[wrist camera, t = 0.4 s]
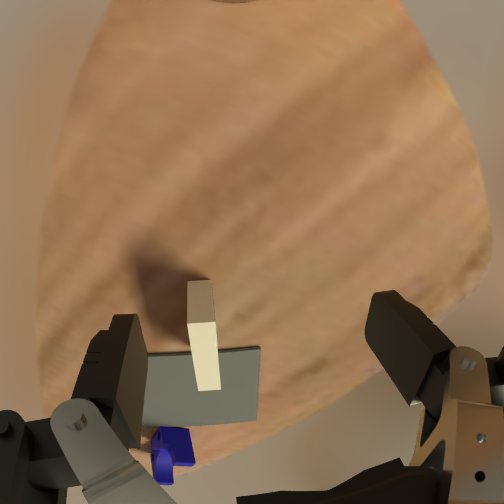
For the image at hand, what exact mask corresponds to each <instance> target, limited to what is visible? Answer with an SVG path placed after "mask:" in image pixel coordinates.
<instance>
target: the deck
mask: <svg viewBox="0 0 504 504" xmlns="http://www.w3.org/2000/svg"><path fill="white" fill-rule="evenodd" d="M187 326H188V333H189V339H190V345H191V352H192V358H193V364H194V369H195V375H196V381H197V386H198V391H209V390H221V382H220V370H219V359H218V346H217V333H216V321H215V311H214V302H213V292H212V282H211V280H199V281H188V282H187Z"/></svg>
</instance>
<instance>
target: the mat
mask: <svg viewBox="0 0 504 504" xmlns="http://www.w3.org/2000/svg"><path fill="white" fill-rule="evenodd" d="M260 352H261V348H260V347H252V348H241V349H230V350H218V359H219V370H220V382H221V390H209V391H198V386H197V381H196V375H195V369H194V364H193V358H192V352H188V353H168V354H147V355H148V372H147V380H146V388H145V397H144V407H143V417H142V427H161V426H163V427H179V426H201V425H216V424H228V423H238V422H247V421H255V420H257V407H258V389H259V371H260Z"/></svg>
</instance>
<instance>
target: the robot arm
mask: <svg viewBox="0 0 504 504" xmlns="http://www.w3.org/2000/svg"><path fill="white" fill-rule="evenodd" d="M214 1H218V2H225V3H244V2H249V1H254V0H214ZM365 338H366V341H367V343H368V345H369V347H370V348H371V349H372V351H373V352H374V354H375V355H376V357H377V358H378V360H379V361H380V363H381V364H382V366H383V367H384V369H385V370H386V372H387V373H388V374H389V376H390V377H391V379H392V380H393V382H394V383H395V385H396V387H397V388H398V390H399V391H400V393H401V394H402V396H403V397H404V399H405V400H406V402H407V403H408V405H409V406H412V405H415V404H418V403H420V402H422V403H423V404H424V407H423V408H422V410H421V415H420V421H419V428H418V433H417V439H416V445H415V450H414V454H413V457H412V459H411V461H410V463H409V465H408V466H404V465H403V463H402V461H401V459H400V458H397V459H394V460H392V461H389V462H386V463H383V464H381V465H378V466H375V467H372V468H369V469H366V470H364V471H362V472H361V473H359V474H357V475H355V476H354V477H352V478H350V479H349V480H347V481H345V482H343V483H341V484H340V485H338V486H336V487H334V488H332V489H330V490H327V491H277V492H271V493H264V494H257V495H250V496H241V497H236V499H237V504H504V347H503V348H502V350H501V352H500V354H499V356H498V357H493V358H484V356H483V355H482V354H481V353H480V352H479V351H477V350H476V349H474V348H471V347H467V346H458V347H456V346H455V345H454V344H453V343H452V342H451V341H450V340H449V339H448V337H447V336H446V335H445V334H444V333H443V332H442V331H441V330H440V329H439V328H438V327H437V326H436V325H434V324H433V322H432V321H431V320H430V319H429V318H427V316H426V315H425V314H424V313H423V312H422V311H421V310H420V309H419V308H418V307H416V306H415V305H413V304H411V303H409V302H408V301H406V300H405V299H404V298H403V297H402V296H401V295H400V294H399V293H398V292H397V291H395V290H389V291H382V292H376V293H374V294H373V296H372V299H371V304H370V308H369V313H368V317H367V321H366V326H365ZM147 372H148V355H147V350H146V346H145V342H144V338H143V334H142V330H141V326H140V321H139V318H138V315H137V314H116V315H114V316H113V318H112V321H111V324H110V327H109V330H100V331H99V332H98V333H97V334H96V335H95V336H94V338H93V339H92V340H91V341H90V344H89V347H88V349H87V354H86V355H85V358H84V361H83V364H82V366H81V369H80V372H79V375H78V378H77V381H76V384H75V387H74V390H73V394H72V397H71V399H70V400H67V401H65V402H63V403H61V404H60V405H59V406H57V407H56V409H55V410H54V411H53V413H52V415H51V418H47V419H41V420H35V421H29V422H25V421H24V420H23V419H22V417H21V416H20V415H19V414H18V413H17V412H15V411H12V410H3V411H0V504H66V497H67V487H73V486H79V485H82V487H83V490H82V492H83V495H84V497H85V498H86V500H87V502H88V503H89V504H177V503H176V502H175V501H174V500H173V499H172V498H171V497H170V496H169V495H168V494H167V493H166V492H165V491H164V489H163V488H162V487H161V486H160V485H159V484H158V483H157V482H156V481H155V479H154V478H153V477H152V476H151V475H150V474H149V473H148V471H147V470H146V469H145V468H144V467H143V466H142V465H141V464H140V463H139V462H138V461H136V460H135V459H134V458H133V457H132V455H131V454H130V453H129V452H128V451H129V448H140V441H141V428H142V417H143V407H144V397H145V388H146V380H147Z"/></svg>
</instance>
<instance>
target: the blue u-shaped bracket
mask: <svg viewBox="0 0 504 504" xmlns="http://www.w3.org/2000/svg"><path fill="white" fill-rule="evenodd" d="M151 449H152V450H154V451H153V452H152V453H151V463H152V471H153V478H154V479H155V481H156V482H157V483H158V484H159V485H172V484H173V483H174V481H173V466H193V465H194V464H195V463H196V462H195V457H194V452H193V447H192V442H191V437H190V432H189V429H182V428H172V427H163V426H161V427H160V428H159V430H158V431H157V433H156V434H155V436H154V437H153V439H152V440H151Z"/></svg>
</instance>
